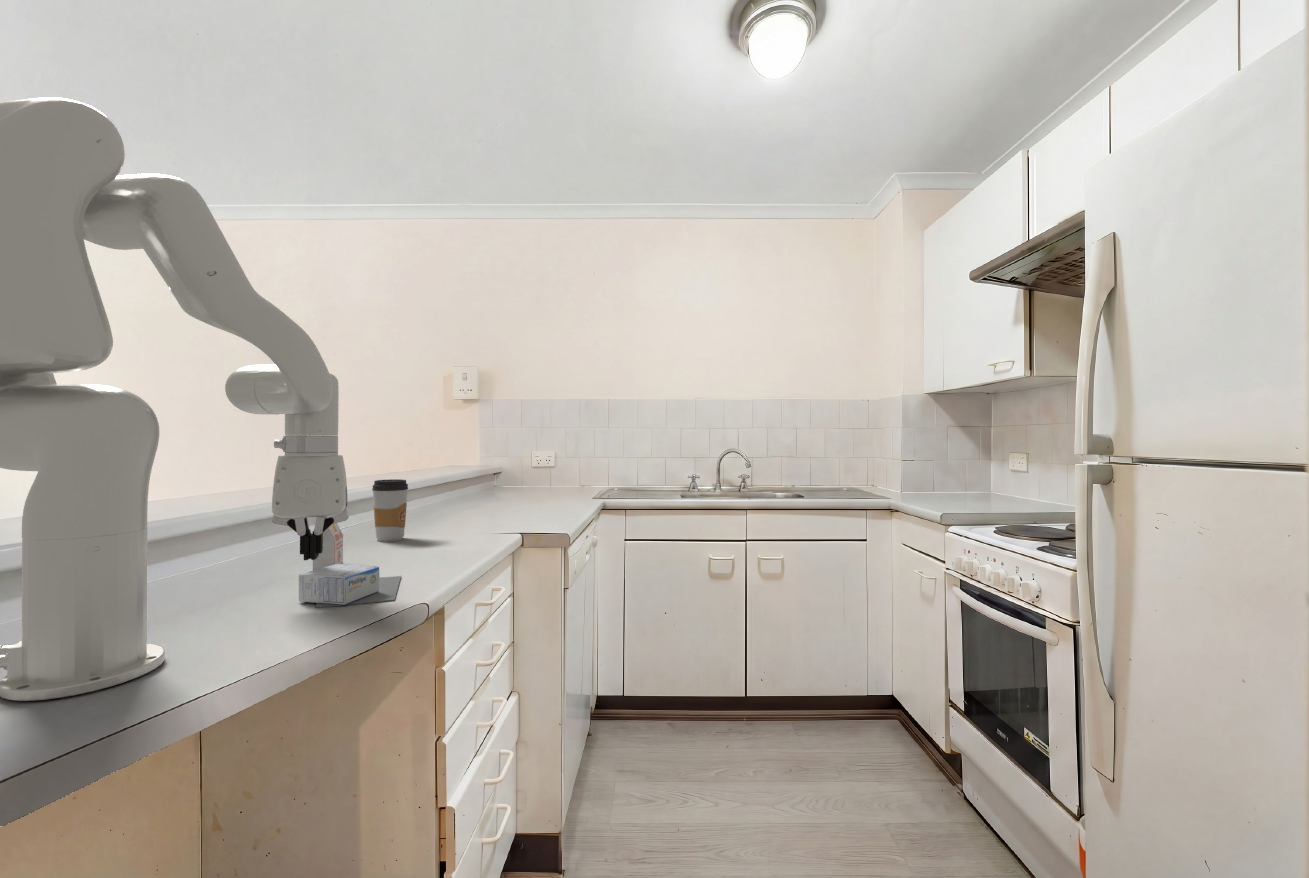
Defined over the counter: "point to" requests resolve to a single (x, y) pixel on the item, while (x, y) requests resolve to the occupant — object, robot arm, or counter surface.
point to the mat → (386, 593)
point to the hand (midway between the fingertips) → (311, 558)
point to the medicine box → (338, 583)
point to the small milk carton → (330, 548)
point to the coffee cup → (390, 509)
